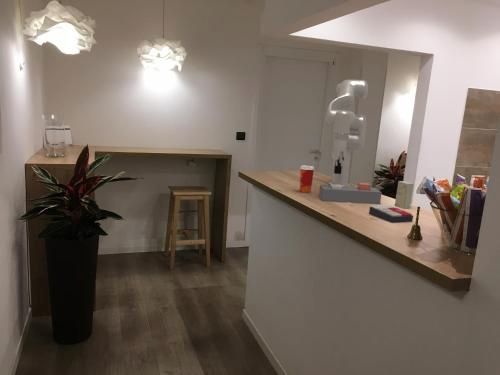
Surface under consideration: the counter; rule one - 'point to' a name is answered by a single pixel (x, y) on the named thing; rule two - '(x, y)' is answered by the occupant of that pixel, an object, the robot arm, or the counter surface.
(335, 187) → the grey plug
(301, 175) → the paper cup
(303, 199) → the counter surface
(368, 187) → the red plug
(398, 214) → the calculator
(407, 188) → the skincare box
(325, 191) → the plug block
